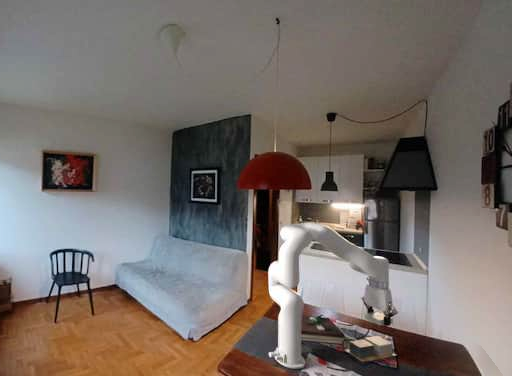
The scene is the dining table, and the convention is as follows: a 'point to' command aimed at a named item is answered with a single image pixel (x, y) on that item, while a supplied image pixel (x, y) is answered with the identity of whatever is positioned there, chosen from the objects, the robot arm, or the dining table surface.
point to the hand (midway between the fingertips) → (378, 321)
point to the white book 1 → (376, 318)
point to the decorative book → (320, 331)
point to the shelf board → (370, 357)
